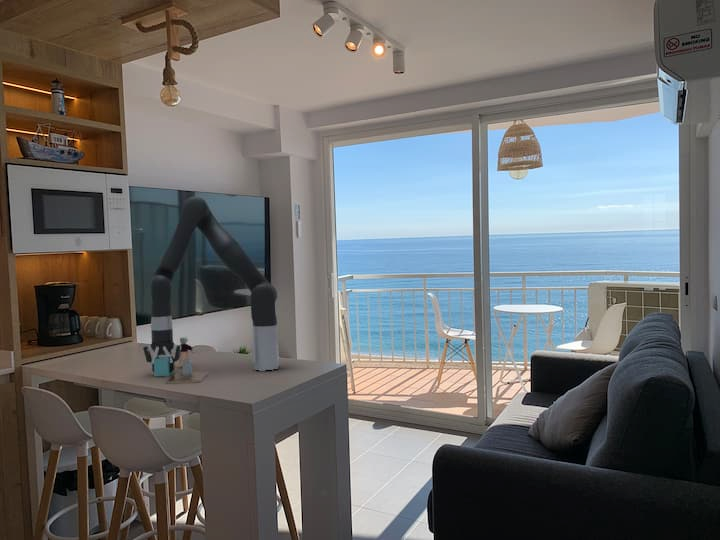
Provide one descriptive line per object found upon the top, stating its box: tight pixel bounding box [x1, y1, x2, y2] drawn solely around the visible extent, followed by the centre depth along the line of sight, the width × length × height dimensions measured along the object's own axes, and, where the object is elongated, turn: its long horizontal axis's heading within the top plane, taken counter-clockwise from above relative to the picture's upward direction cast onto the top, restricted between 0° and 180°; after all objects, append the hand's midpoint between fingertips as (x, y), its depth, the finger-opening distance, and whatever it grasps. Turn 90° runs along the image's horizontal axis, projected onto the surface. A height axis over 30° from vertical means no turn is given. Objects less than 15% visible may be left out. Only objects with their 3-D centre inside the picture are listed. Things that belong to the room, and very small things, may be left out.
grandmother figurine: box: [174, 335, 195, 368], centre depth 214 cm, size 8×4×13 cm, turn 105°
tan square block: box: [165, 358, 209, 384], centre depth 192 cm, size 12×12×7 cm
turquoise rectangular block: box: [153, 355, 174, 377], centre depth 200 cm, size 5×5×7 cm
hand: (163, 372), depth 200 cm, fingers closed on turquoise rectangular block, 5 cm apart
